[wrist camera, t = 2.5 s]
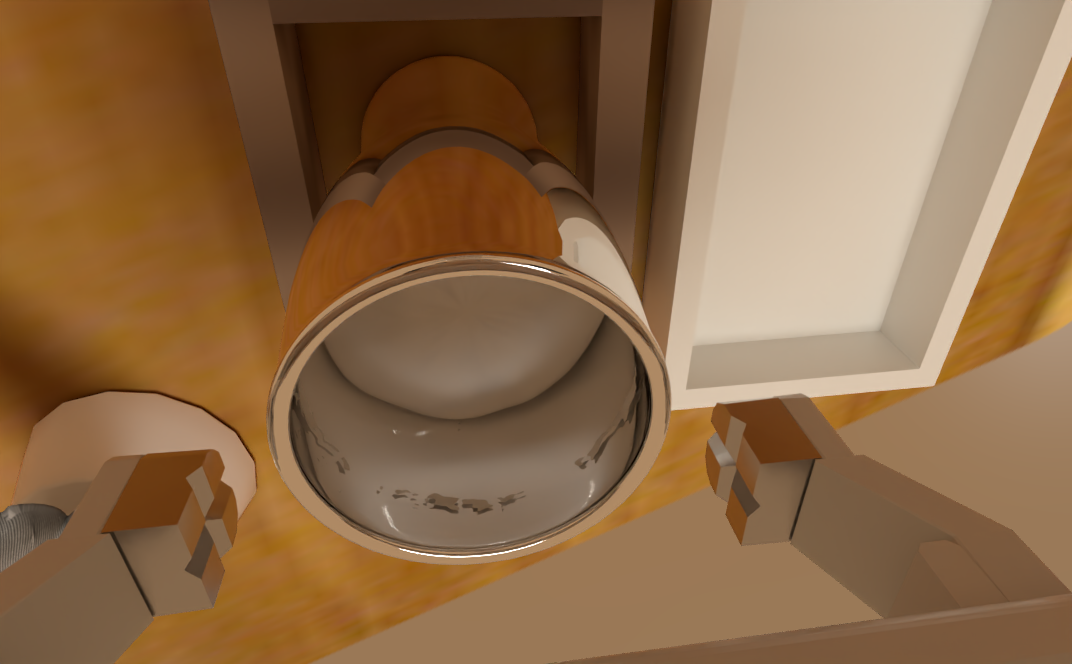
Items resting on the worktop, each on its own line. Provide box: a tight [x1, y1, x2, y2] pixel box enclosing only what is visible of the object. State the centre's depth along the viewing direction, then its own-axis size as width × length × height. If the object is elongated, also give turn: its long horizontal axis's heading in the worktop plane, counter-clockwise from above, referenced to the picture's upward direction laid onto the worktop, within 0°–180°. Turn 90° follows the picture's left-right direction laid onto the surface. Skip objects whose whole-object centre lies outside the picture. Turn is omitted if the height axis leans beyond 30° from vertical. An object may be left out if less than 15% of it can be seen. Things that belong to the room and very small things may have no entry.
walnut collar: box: [208, 0, 655, 312], centre depth 22 cm, size 12×12×3 cm
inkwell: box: [0, 391, 256, 573], centre depth 23 cm, size 9×18×10 cm, turn 24°
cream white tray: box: [642, 0, 1072, 410], centre depth 24 cm, size 16×12×4 cm
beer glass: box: [266, 56, 671, 565], centre depth 17 cm, size 7×7×15 cm
